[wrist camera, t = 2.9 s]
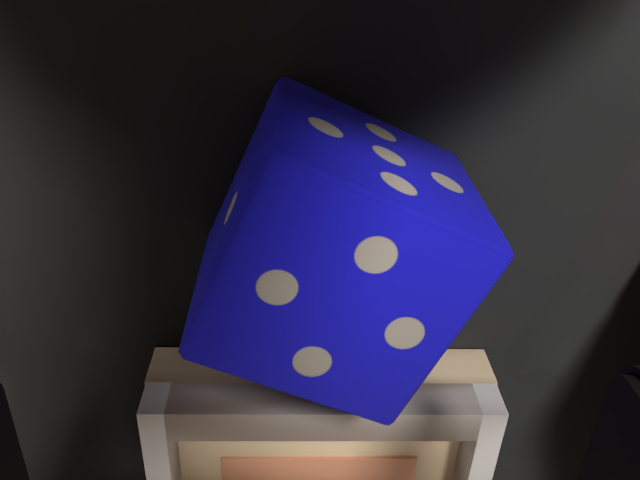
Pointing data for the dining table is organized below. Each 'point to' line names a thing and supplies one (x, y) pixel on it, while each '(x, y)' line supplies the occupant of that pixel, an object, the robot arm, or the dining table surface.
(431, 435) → the light wooden open box
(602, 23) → the dining table surface
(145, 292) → the dining table surface
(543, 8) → the dining table surface
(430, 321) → the die
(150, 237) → the dining table surface
